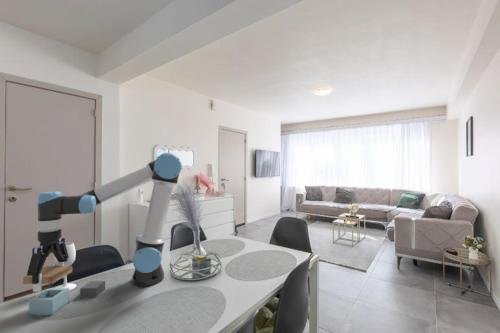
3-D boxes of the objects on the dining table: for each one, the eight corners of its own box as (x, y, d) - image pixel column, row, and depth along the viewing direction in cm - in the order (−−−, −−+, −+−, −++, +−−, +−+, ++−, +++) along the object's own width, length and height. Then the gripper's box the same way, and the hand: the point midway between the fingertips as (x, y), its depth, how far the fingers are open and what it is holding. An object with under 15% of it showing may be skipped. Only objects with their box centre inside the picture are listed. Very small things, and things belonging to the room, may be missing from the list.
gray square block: (105, 289, 116) (105, 280, 116) (96, 297, 109) (96, 288, 109) (90, 289, 116) (90, 281, 116) (80, 297, 109) (80, 288, 109)
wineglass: (49, 294, 112) (49, 247, 112) (58, 285, 120) (58, 242, 120) (71, 291, 114) (71, 246, 114) (79, 283, 122) (79, 240, 123)
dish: (69, 302, 105) (69, 288, 105) (52, 315, 96) (52, 299, 96) (47, 302, 105) (47, 288, 105) (29, 315, 96) (29, 300, 96)
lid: (72, 271, 106) (72, 265, 106) (52, 283, 95) (52, 277, 95) (46, 271, 106) (46, 265, 106) (23, 283, 95) (23, 277, 95)
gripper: (61, 223, 112) (61, 271, 112) (13, 238, 89) (13, 299, 88) (78, 223, 112) (78, 271, 112) (34, 238, 89) (34, 299, 89)
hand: (49, 284), depth 100 cm, fingers closed on lid, 11 cm apart
